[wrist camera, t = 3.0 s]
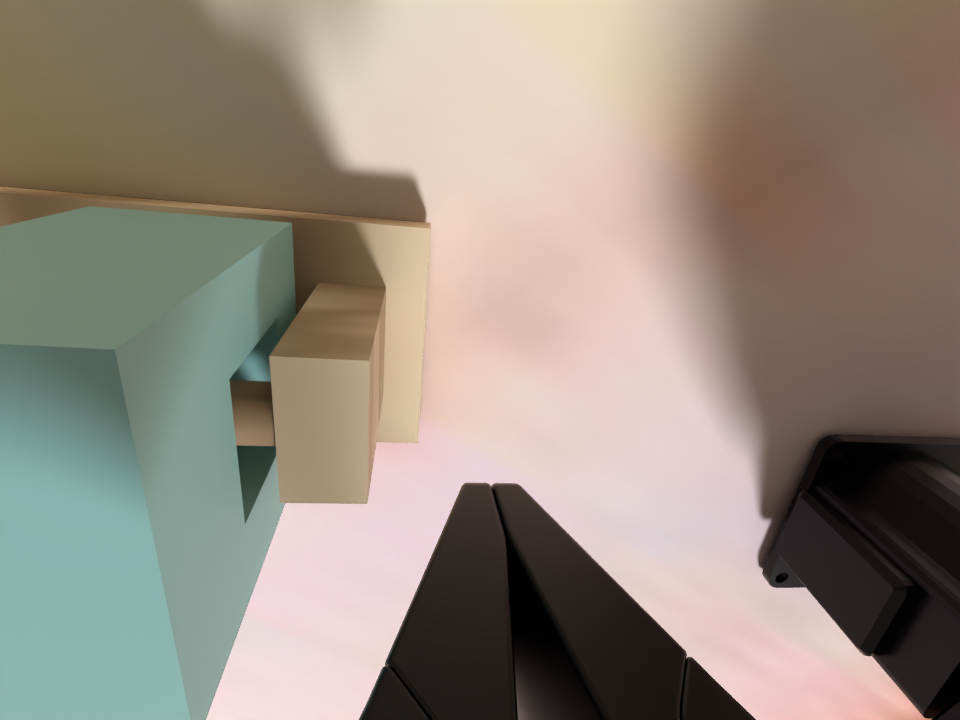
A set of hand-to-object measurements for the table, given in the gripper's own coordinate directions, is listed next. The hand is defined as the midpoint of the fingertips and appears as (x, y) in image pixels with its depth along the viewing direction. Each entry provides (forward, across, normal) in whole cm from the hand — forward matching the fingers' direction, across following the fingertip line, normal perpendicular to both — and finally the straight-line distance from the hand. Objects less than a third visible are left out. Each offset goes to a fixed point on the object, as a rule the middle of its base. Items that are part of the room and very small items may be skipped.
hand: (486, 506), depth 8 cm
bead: (+6, +6, 0) cm, 8 cm away
